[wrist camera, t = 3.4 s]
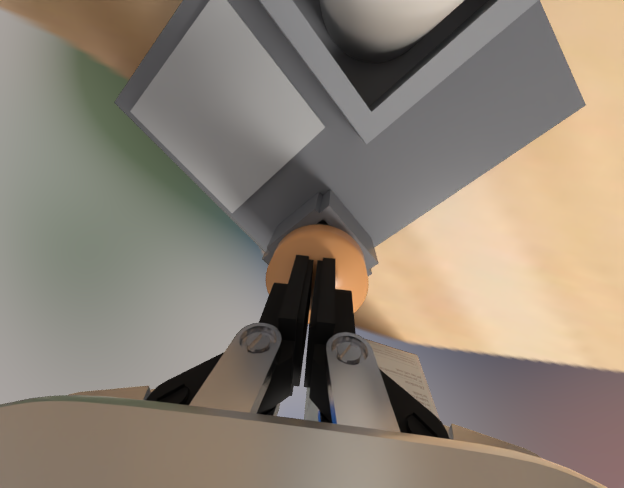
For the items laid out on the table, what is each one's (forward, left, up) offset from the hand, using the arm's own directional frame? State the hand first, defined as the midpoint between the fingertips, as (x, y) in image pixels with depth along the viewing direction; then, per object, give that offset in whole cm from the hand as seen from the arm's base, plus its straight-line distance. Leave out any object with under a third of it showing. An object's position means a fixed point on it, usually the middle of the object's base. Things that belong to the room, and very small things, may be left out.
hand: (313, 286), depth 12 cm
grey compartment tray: (-5, -5, -7) cm, 10 cm away
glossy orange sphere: (0, 0, -5) cm, 5 cm away
